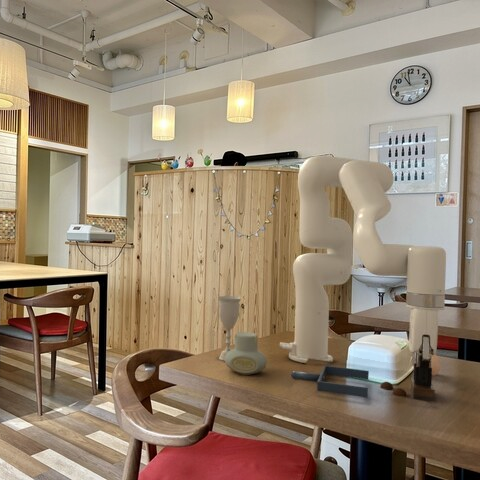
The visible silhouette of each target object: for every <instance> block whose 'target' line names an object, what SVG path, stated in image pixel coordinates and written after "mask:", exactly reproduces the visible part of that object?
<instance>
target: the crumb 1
mask: <svg viewBox="0 0 480 480" xmlns="http://www.w3.org/2000/svg"><path fill="white" fill-rule="evenodd" d="M379 388H380V389H382V390H385V391H394V385H393V384H392V383H391V382H389V381H383V382H381V384H380V386H379Z"/></svg>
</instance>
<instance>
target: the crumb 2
mask: <svg viewBox="0 0 480 480" xmlns="http://www.w3.org/2000/svg"><path fill="white" fill-rule="evenodd" d="M392 395H393V396H395V397H401V398H404V397H405V398H406V397H407V396H408V395H407V391H406V390H405V389H404V388H401V387H396V388H393V390H392Z"/></svg>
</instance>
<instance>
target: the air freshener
mask: <svg viewBox="0 0 480 480" xmlns="http://www.w3.org/2000/svg"><path fill="white" fill-rule="evenodd" d="M258 337H259V336H258V334H256V333H254V332H249V331H239V332H236V333H235V334H234V348H232V349H231V350H230V351H229V352H228V353H227V354H226V356H225V361H224V363H225V365H226V366H227V368H229V369H230V370H231V371H233V372H234V373H237V374H239V375H242V376H251V375H253V374H257V373H261V372H262V371H263V370H264V369H265V368H266V366H267V364H268V363H267V362H268V360H267V358H266V356H265V354H264V353H263V352H261V351H260V350H258Z"/></svg>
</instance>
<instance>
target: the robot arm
mask: <svg viewBox="0 0 480 480" xmlns="http://www.w3.org/2000/svg"><path fill="white" fill-rule="evenodd" d="M394 176H395V175H394V173H393V170H392V169H391V168H390V166H389V165H388V164H386V163H384V162H380V161H370V160H361V159H357V158H356V159H355V158H348V157H347V158H346V157H339V156H331V155H316V156H312V157H309V158H307V159H306V160H305V161H304V162H303V163H302V165H301V166H300V168H299V170H298V175H297V189H298V194H299V225H298V226H299V229H298V230H299V231H298V233H299V234H298V237H299V242H300V244H301V245H302V246H303V247H305V248H307V249H314V250H316V249H317V250H319V249H320V250H326V252H327V253H324V252H307V253H303V254H301V255H299V256H297V257H296V258H295V260H294V261H293V264H292V273H293V280H294V288H295V290H294V291H295V302H294V303H295V305H294V306H295V309H294V310H295V311H294V317H295V318H294V341H293V342H290V343H287V342H283V341H282V342H281V341H280V342H279V349H280V350H282V351H289V353H288V359H290V360H291V361H294V362H298V363H301V364H307V362H308V360H309V359H310V360H315V361H324V362H332V363H333V362H334V357H333V356H332V355H330V354H328V352H329V351H328V349H329V322H330V321H329V319H330V317H329V315H330V299H329V296H328V293H327V291H326V290H325V288H324V286H340V285H344V284H346V283H347V282H348V281H349V279H350V277H351V275H352V270H353V268H352V267H353V246H354V248H355V250H356V253H357V255H358V258H359V260H360V261H361V263H362V265H363V267H364V268H365V269H366V270H367V272H368V273H370V274H372V275H374V276H378V277H406V295H405V296H406V297H405V298H406V299H405V307H406V308H409V309H410V314H409V328H408V330H409V331H408V348H409V351H410V353H411V354H414V359H415V360H414V363H413V378H414V381H415V384H416V385H421V386H428V387H430V386H431V385H433V383H432V380H433V378H432V377H433V376H432V368H431V362H432V355H435V354H436V355H437V348H438V335H439V333H438V331H439V311H444V310H445V303H446V301H445V300H446V271H447V253H446V250H445V248H443V247H440V246H432V245H431V246H430V245H411V244H397V243H383V241H382V239H381V238H380V235H379V233H378V230H377V228H376V222H378V221H380V220H382V219H383V218H385V217H386V216H387V215H388V214H389V213H390V212H391V209H392V204H391V201H390V199H389V198H388V196H387V194H386V193H387V192H389V191H390V190H391V188H392V187H393V184H394V182H395V181H394ZM324 187H332V188H342V189H343V191H344V193H345V195H346V197H347V200H348V201H349V203H350V206H351V207H352V209H353V212H354V213H355V216H356V220H355V224H354V227H353V231H352V227H351V226H350V224H349V223H348V222H347V220H345V219H343V218H339V217H331V211H330V210H331V202H330V198H329V196H328V193H327V191H326V190H325V189H324Z"/></svg>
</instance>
